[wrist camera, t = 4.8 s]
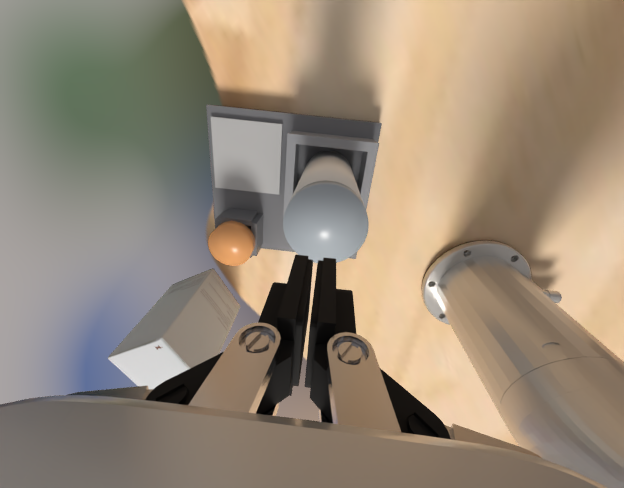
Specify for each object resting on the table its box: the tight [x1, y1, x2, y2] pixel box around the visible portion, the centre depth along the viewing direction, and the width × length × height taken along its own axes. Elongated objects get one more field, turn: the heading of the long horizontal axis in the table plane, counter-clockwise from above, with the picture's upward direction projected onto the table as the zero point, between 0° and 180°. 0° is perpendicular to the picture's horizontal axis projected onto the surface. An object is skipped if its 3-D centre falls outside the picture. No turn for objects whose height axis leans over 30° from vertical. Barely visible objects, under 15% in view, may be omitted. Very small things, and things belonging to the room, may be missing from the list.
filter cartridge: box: [283, 151, 368, 263], centre depth 22 cm, size 5×5×14 cm
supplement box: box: [108, 269, 240, 389], centre depth 33 cm, size 7×7×13 cm
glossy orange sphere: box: [208, 221, 255, 266], centre depth 29 cm, size 4×4×4 cm
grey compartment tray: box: [207, 105, 382, 259], centre depth 28 cm, size 17×15×5 cm
